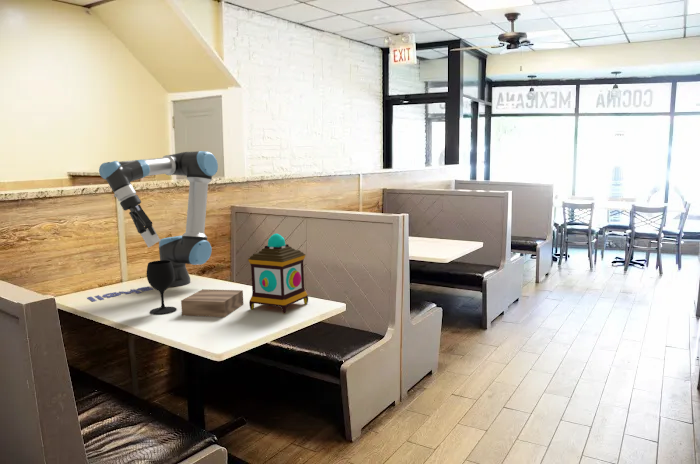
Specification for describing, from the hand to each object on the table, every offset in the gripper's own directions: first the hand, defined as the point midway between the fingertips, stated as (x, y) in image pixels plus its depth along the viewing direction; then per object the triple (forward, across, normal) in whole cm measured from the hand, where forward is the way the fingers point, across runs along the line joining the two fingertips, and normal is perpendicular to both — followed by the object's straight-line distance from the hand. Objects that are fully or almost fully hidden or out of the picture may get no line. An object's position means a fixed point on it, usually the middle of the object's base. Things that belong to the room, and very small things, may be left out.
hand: (154, 244), depth 224 cm
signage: (+13, -38, -16) cm, 44 cm away
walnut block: (+34, +12, +5) cm, 37 cm away
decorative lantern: (+46, +23, +26) cm, 57 cm away
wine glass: (+26, +2, -10) cm, 28 cm away
